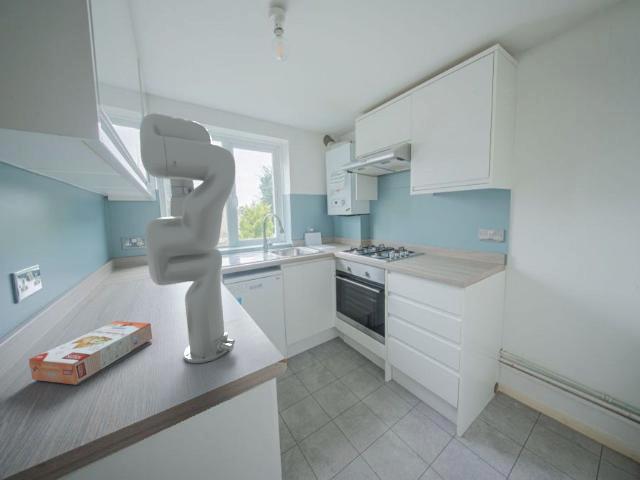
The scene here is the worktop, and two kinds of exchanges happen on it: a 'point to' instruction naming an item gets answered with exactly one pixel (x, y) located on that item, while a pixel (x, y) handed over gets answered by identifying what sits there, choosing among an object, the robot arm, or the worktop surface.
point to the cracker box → (89, 352)
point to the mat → (118, 360)
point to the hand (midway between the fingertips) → (187, 240)
